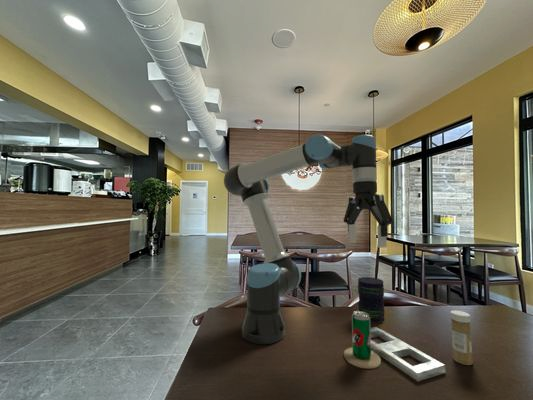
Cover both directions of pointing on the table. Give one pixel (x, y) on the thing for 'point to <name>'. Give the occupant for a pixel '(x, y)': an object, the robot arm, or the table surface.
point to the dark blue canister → (371, 298)
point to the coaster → (367, 364)
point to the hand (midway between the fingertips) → (366, 245)
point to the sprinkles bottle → (461, 337)
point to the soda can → (361, 335)
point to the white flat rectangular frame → (399, 349)
